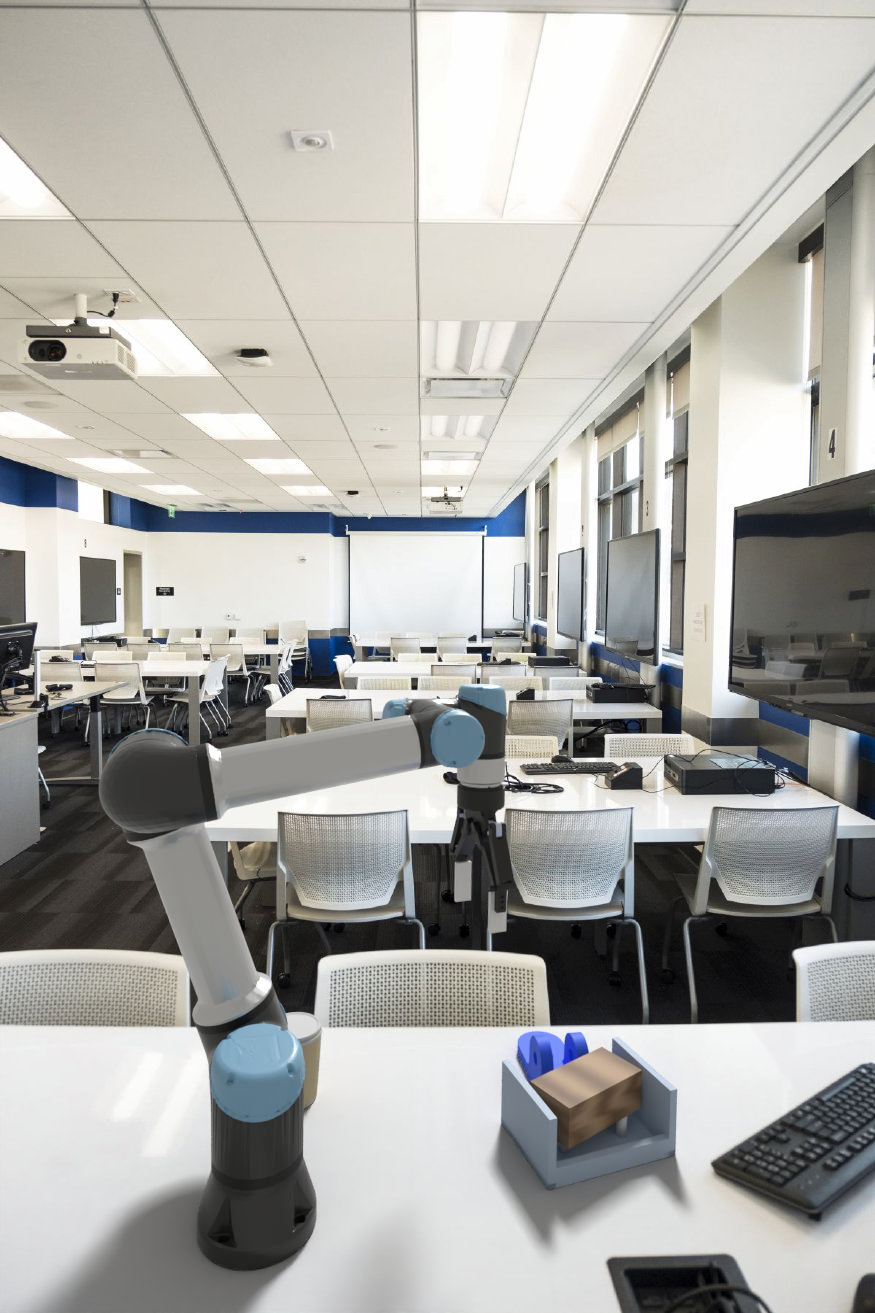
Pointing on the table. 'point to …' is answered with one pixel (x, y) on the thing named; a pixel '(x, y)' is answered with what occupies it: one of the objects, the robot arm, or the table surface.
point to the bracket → (549, 1051)
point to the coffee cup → (308, 1049)
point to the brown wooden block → (590, 1094)
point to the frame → (602, 1153)
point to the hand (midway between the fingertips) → (478, 915)
